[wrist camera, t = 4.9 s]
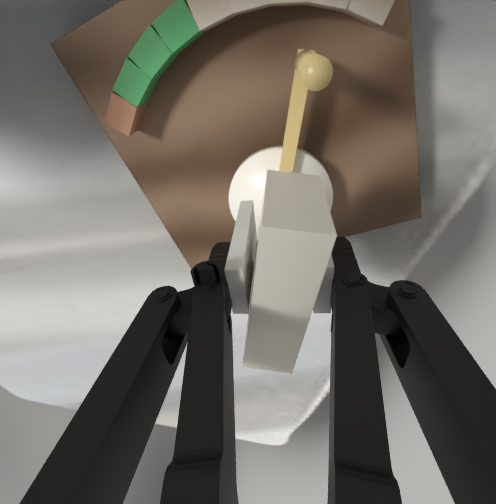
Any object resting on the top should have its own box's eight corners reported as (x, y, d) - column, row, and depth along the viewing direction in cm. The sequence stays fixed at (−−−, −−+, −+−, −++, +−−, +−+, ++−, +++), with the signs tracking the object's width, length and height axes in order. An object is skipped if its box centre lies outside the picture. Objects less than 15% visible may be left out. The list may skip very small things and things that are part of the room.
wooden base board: (70, 43, 18) (32, 44, 15) (385, -142, 13) (414, -193, 10) (199, 260, 28) (190, 285, 25) (411, 204, 22) (430, 228, 20)
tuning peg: (227, 236, 23) (195, 361, 14) (238, 41, 15) (184, 45, 7) (316, 247, 23) (339, 379, 14) (370, 56, 15) (494, 80, 6)
